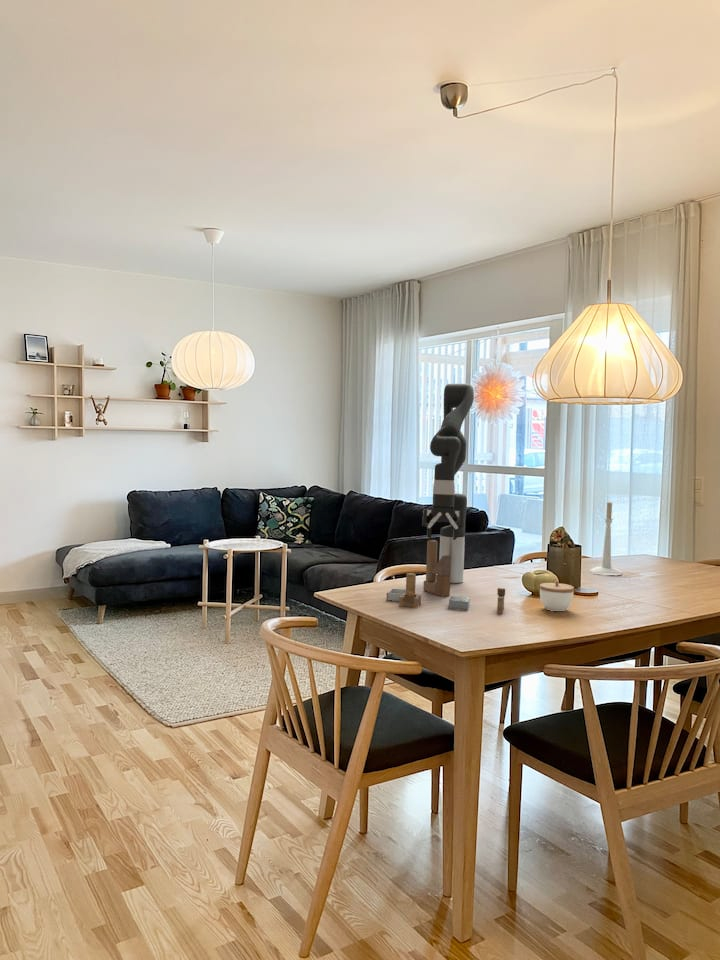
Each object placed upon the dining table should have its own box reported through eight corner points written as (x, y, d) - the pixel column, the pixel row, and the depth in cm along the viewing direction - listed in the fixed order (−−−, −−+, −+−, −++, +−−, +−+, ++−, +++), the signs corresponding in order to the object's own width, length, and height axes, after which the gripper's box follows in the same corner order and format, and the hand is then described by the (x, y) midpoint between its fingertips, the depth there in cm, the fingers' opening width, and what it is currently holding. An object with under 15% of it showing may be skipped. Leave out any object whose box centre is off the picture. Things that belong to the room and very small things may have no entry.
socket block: (402, 602, 244) (402, 593, 244) (420, 603, 242) (421, 594, 242) (399, 606, 238) (399, 596, 238) (417, 607, 237) (418, 598, 236)
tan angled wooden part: (441, 597, 254) (443, 544, 253) (422, 590, 263) (424, 540, 262) (450, 596, 256) (452, 543, 254) (431, 590, 265) (433, 539, 264)
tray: (391, 595, 253) (391, 588, 253) (411, 597, 252) (411, 589, 252) (386, 600, 246) (386, 592, 245) (407, 602, 244) (407, 594, 244)
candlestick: (626, 576, 303) (630, 503, 301) (594, 575, 303) (598, 502, 302) (616, 571, 316) (620, 500, 314) (586, 569, 316) (589, 499, 314)
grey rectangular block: (451, 605, 243) (451, 595, 243) (469, 606, 242) (470, 597, 242) (448, 609, 237) (449, 600, 237) (467, 611, 235) (468, 601, 235)
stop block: (497, 607, 241) (498, 585, 240) (505, 607, 240) (506, 586, 240) (495, 613, 232) (496, 591, 232) (503, 614, 232) (504, 591, 231)
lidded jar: (568, 606, 245) (569, 578, 245) (576, 614, 234) (578, 584, 234) (535, 605, 245) (536, 577, 245) (542, 613, 235) (544, 583, 234)
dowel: (406, 603, 242) (407, 573, 241) (415, 604, 241) (416, 573, 241) (404, 605, 239) (405, 574, 238) (413, 606, 238) (414, 575, 238)
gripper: (462, 493, 266) (461, 539, 266) (422, 492, 266) (421, 537, 266) (465, 494, 258) (463, 541, 258) (424, 492, 259) (422, 539, 259)
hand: (442, 539), depth 262 cm, fingers open, 8 cm apart
